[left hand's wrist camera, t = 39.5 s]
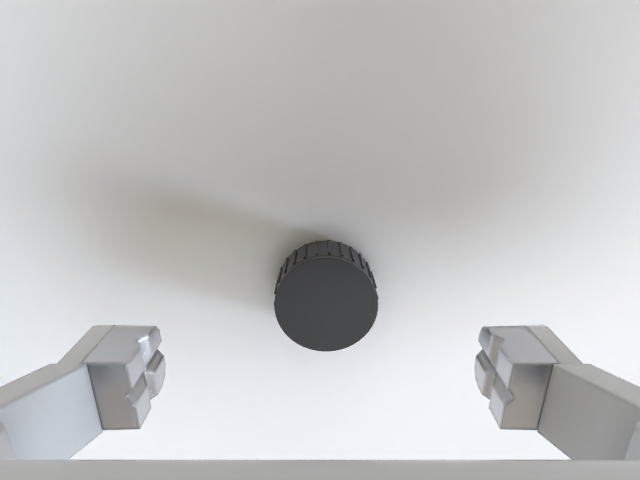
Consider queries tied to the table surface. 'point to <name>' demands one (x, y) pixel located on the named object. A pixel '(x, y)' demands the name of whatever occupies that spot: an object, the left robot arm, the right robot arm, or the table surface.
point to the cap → (325, 296)
